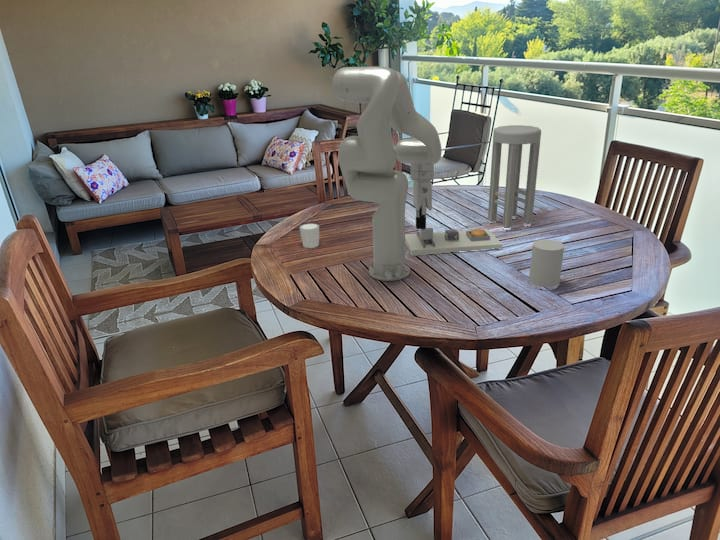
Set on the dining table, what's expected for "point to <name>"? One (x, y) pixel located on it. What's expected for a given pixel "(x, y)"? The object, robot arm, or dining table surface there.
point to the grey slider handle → (426, 235)
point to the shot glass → (310, 235)
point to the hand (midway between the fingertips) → (420, 228)
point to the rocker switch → (451, 233)
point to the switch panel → (451, 243)
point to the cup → (546, 263)
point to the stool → (514, 171)
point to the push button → (477, 233)
